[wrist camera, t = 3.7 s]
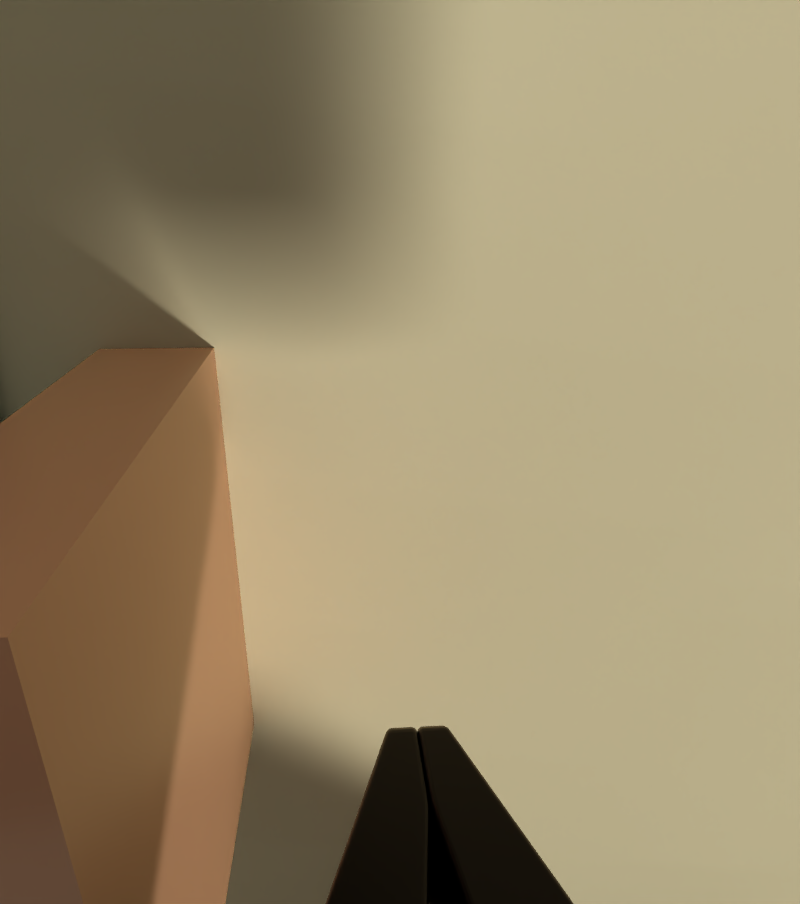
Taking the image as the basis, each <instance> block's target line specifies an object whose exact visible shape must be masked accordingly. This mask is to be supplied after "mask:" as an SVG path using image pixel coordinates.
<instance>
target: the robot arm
mask: <svg viewBox="0 0 800 904" xmlns="http://www.w3.org/2000/svg"><path fill="white" fill-rule="evenodd" d="M326 904H573V902H572V901H571V899H570V898H569V897H568V895H567V894H566V892H565V891H564V890H563V888H562V887H561V885H560V884H559V883H558V881H557V880H556V878H555V877H554V876H553V874H552V873H551V871H550V870H549V869H548V867H547V866H546V864H545V863H544V862H543V860H542V859H541V857H540V856H539V855H538V853H537V852H536V850H535V849H534V848H533V846H532V845H531V843H530V842H529V841H528V839H527V838H526V836H525V835H524V834H523V832H522V831H521V829H520V828H519V827H518V825H517V824H516V822H515V821H514V820H513V818H512V817H511V815H510V814H509V813H508V811H507V810H506V808H505V807H504V806H503V804H502V803H501V801H500V800H499V799H498V797H497V796H496V794H495V793H494V792H493V790H492V789H491V787H490V786H489V785H488V783H487V782H486V780H485V779H484V778H483V776H482V775H481V773H480V772H479V771H478V769H477V768H476V766H475V765H474V764H473V762H472V761H471V759H470V758H469V757H468V755H467V754H466V752H465V751H464V750H463V748H462V747H461V745H460V744H459V743H458V741H457V740H456V738H455V737H454V736H453V734H452V733H451V731H450V730H449V729H448V728H447V727H445V726H426V727H420V728H419V729H418V731H416V729H415V728H413V727H406V728H391V729H389V730H388V731H387V732H386V734H385V737H384V740H383V743H382V745H381V748H380V751H379V754H378V757H377V760H376V762H375V765H374V768H373V771H372V774H371V777H370V779H369V782H368V785H367V788H366V791H365V794H364V796H363V799H362V802H361V805H360V808H359V811H358V813H357V816H356V819H355V822H354V825H353V828H352V830H351V833H350V836H349V839H348V842H347V845H346V847H345V850H344V853H343V856H342V859H341V862H340V864H339V867H338V870H337V873H336V876H335V879H334V881H333V884H332V887H331V890H330V893H329V896H328V898H327V901H326Z"/></svg>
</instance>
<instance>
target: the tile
mask: <svg viewBox="0 0 800 904" xmlns="http://www.w3.org/2000/svg"><path fill="white" fill-rule="evenodd" d="M253 728H254V719H253V709H252V700H251V690H250V681H249V672H248V662H247V653H246V643H245V634H244V625H243V615H242V606H241V596H240V587H239V578H238V568H237V559H236V549H235V540H234V531H233V521H232V512H231V502H230V493H229V484H228V474H227V465H226V455H225V446H224V437H223V427H222V418H221V408H220V399H219V390H218V380H217V371H216V361H215V352H214V348H130V349H99V350H97V351H96V352H95V353H93V354H92V355H91V356H89V357H88V358H87V359H85V360H84V361H83V362H81V363H80V364H79V365H77V366H76V367H75V368H73V369H72V370H71V371H69V372H68V373H67V374H65V375H64V376H63V377H61V378H60V379H59V380H57V381H56V382H55V383H53V384H52V385H51V386H49V387H48V388H47V389H45V390H44V391H43V392H41V393H40V394H39V395H37V396H36V397H35V398H33V399H32V400H31V401H29V402H28V403H27V404H25V405H24V406H23V407H21V408H20V409H19V410H17V411H16V412H15V413H13V414H12V415H11V416H9V417H8V418H7V419H5V420H4V421H3V422H1V423H0V904H225V903H226V897H227V890H228V884H229V878H230V872H231V865H232V859H233V853H234V846H235V840H236V834H237V828H238V821H239V815H240V809H241V803H242V796H243V790H244V784H245V778H246V771H247V765H248V759H249V753H250V746H251V740H252V734H253Z"/></svg>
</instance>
